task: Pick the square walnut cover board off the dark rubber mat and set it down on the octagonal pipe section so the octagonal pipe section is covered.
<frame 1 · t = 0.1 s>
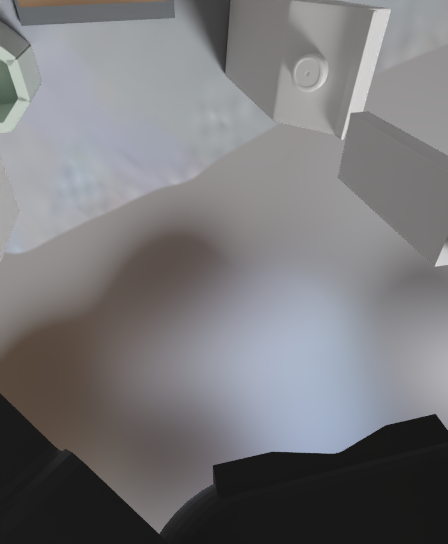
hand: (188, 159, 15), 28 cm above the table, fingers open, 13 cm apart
milk carton: (262, 36, 38), on the table
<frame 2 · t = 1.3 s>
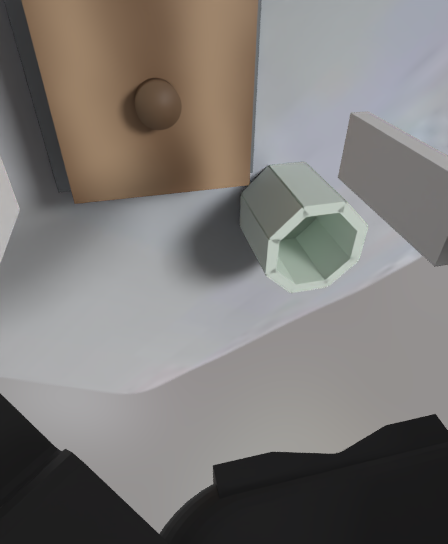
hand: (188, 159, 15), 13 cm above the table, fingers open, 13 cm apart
mat: (149, 82, 25), on the table
octagonal pipe section: (282, 205, 33), on the table
lid: (149, 84, 24), point 1 cm above the table, touching mat
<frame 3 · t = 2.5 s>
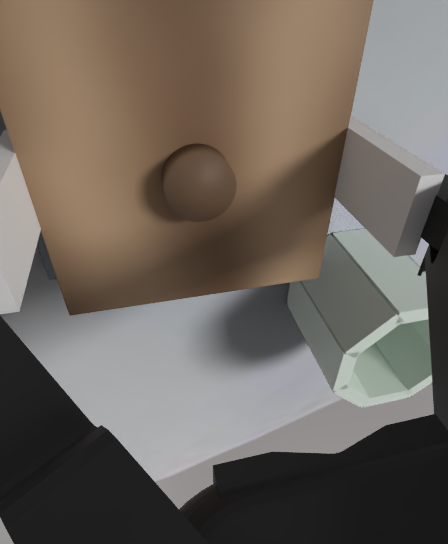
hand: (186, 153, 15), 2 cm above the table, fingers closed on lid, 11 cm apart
mat: (178, 134, 17), on the table
octagonal pipe section: (343, 278, 25), on the table
lid: (180, 138, 17), point 1 cm above the table, touching gripper, mat
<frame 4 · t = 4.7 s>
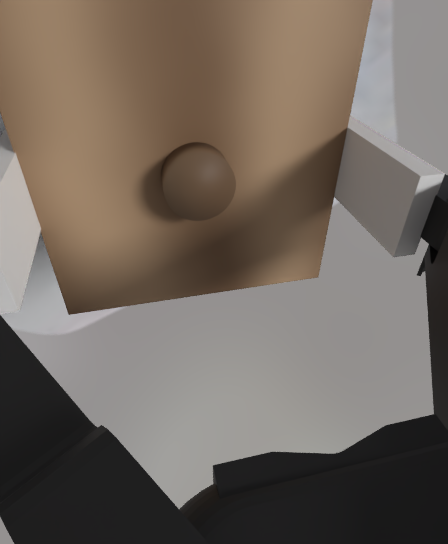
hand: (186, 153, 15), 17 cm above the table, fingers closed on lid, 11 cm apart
lid: (179, 137, 17), point 15 cm above the table, touching gripper
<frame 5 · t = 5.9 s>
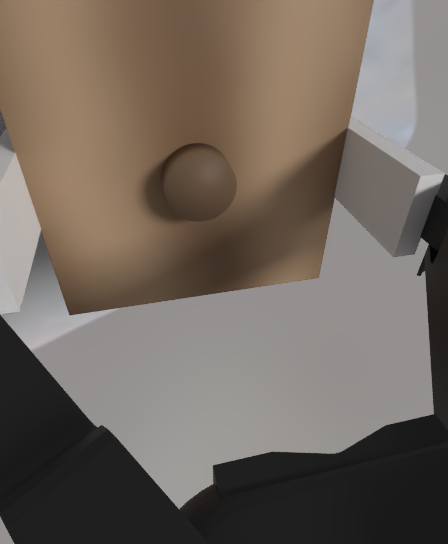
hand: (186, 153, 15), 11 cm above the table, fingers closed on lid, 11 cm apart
lid: (180, 138, 17), point 10 cm above the table, touching gripper
when the fingers open (9 cm above the table, at t = 6.8 s): lid stays where it is, resting on octagonal pipe section.
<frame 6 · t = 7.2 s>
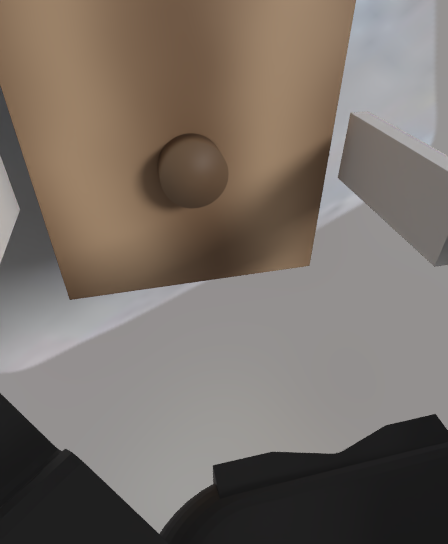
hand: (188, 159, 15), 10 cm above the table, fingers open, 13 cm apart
lid: (176, 131, 17), point 7 cm above the table, touching octagonal pipe section
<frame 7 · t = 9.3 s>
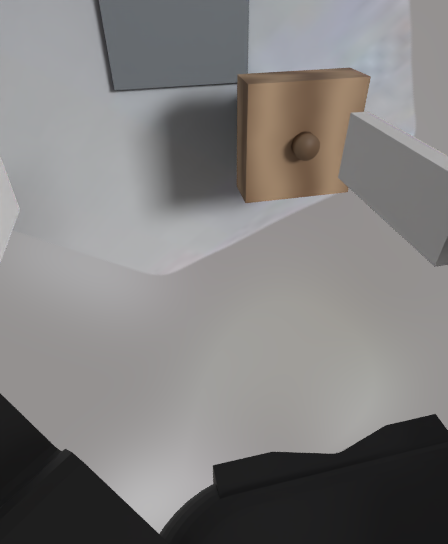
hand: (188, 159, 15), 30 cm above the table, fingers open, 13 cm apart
mat: (176, 11, 37), on the table
lid: (289, 130, 39), point 7 cm above the table, touching octagonal pipe section
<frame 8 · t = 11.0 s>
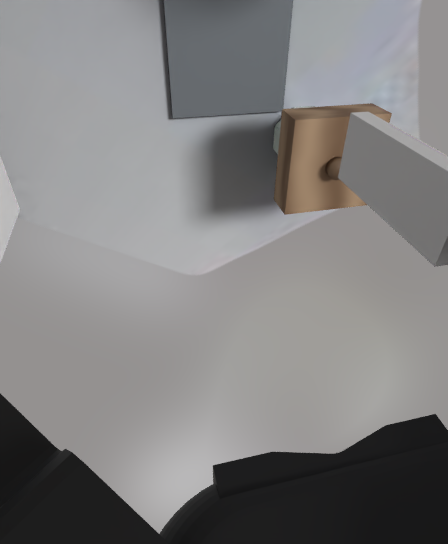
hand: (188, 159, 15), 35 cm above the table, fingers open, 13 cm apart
mat: (228, 54, 44), on the table
lid: (320, 153, 47), point 7 cm above the table, touching octagonal pipe section
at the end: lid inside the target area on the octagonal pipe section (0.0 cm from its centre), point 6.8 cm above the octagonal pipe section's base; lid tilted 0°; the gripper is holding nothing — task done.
